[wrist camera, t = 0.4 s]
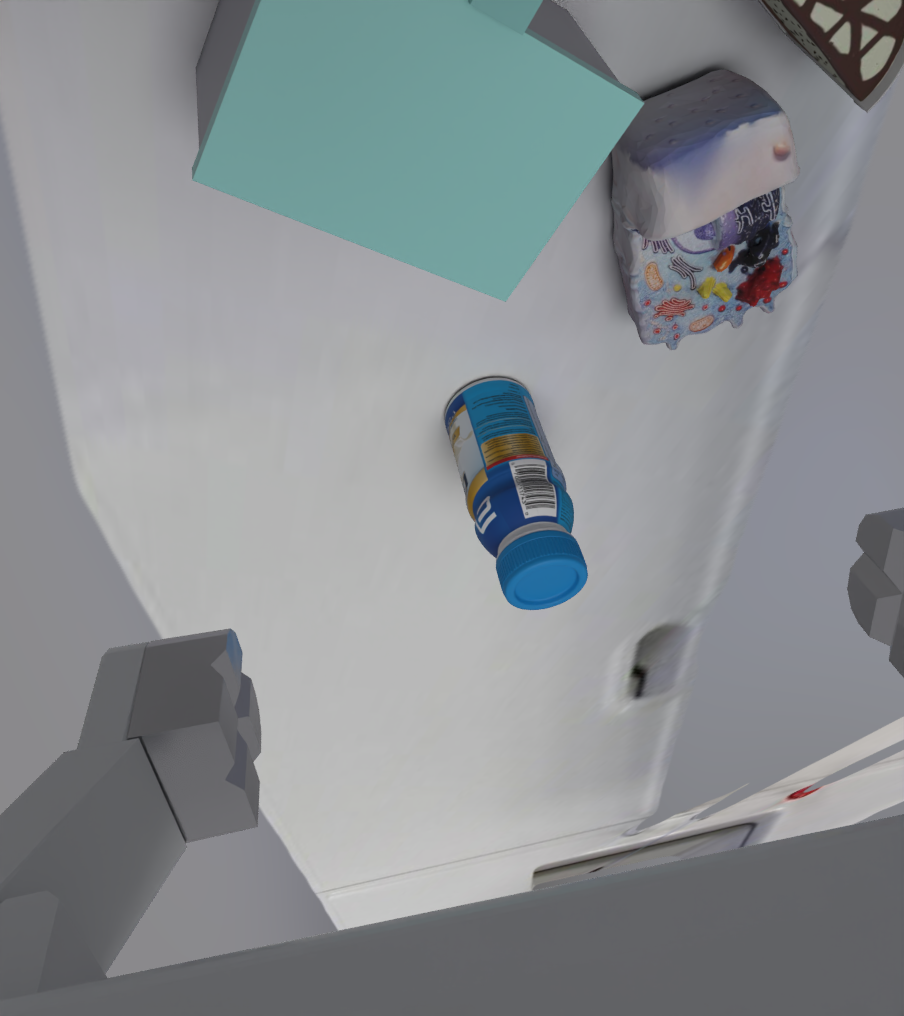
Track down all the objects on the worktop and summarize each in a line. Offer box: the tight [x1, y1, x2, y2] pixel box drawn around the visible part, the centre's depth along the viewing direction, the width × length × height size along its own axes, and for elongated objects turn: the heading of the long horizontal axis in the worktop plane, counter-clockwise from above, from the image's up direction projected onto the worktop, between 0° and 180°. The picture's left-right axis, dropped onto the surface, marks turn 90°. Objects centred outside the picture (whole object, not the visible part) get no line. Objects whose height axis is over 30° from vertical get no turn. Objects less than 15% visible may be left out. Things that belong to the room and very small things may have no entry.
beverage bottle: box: [445, 378, 588, 610], centre depth 72 cm, size 8×8×20 cm
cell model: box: [611, 69, 800, 350], centre depth 62 cm, size 13×11×20 cm
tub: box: [196, 0, 620, 149], centre depth 49 cm, size 13×19×12 cm
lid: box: [192, 0, 644, 302], centre depth 43 cm, size 19×20×2 cm
